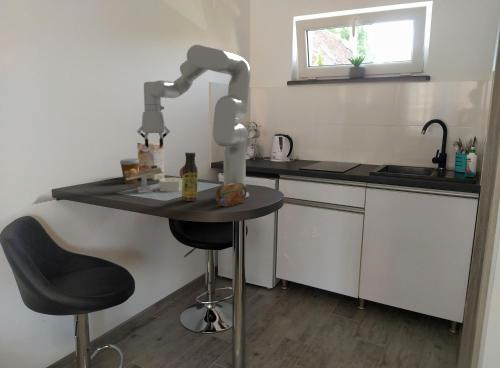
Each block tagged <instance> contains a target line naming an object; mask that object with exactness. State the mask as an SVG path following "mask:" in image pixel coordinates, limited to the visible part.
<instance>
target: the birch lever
mask: <svg viewBox="0 0 500 368" xmlns="http://www.w3.org/2000/svg"><path fill="white" fill-rule="evenodd" d="M124 173H125V177H126V180H131V179H135V178H137V179H141V177H142V174H147V176H149V175H154V174H159V173H162V170H161V169H160V167H157V165H154V166H151V169H149V170H144V171H139V170H138V172H137V173H136V174H132V175H130V173H129V170H127V171H124Z"/></svg>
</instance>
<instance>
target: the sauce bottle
mask: <svg viewBox="0 0 500 368" xmlns="http://www.w3.org/2000/svg"><path fill="white" fill-rule="evenodd" d="M184 156H185V163H184V165H183V166H184V167H183V166H182V167H183V175H182V190H181V198H182V199H181V200H182V202H183V201H184V202H194V201H195V202H196V201H197V198H198V183H199V182H198V177H199V171H198V172H197V170H198V167H197V165H196V152H193V151H187V152H186V151H185V154H184Z"/></svg>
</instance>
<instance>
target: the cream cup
mask: <svg viewBox="0 0 500 368" xmlns="http://www.w3.org/2000/svg"><path fill="white" fill-rule="evenodd" d="M158 190H159V191H160V192H180V191H182V178H181V177H164V178H163V179H158Z"/></svg>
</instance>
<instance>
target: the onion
mask: <svg viewBox="0 0 500 368" xmlns="http://www.w3.org/2000/svg"><path fill="white" fill-rule="evenodd" d="M183 167H184V165H183V166H182V167H181V168H180V169H179V176H180V178H182V175H183ZM197 172H198V173H199V171H198V169H197Z"/></svg>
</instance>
